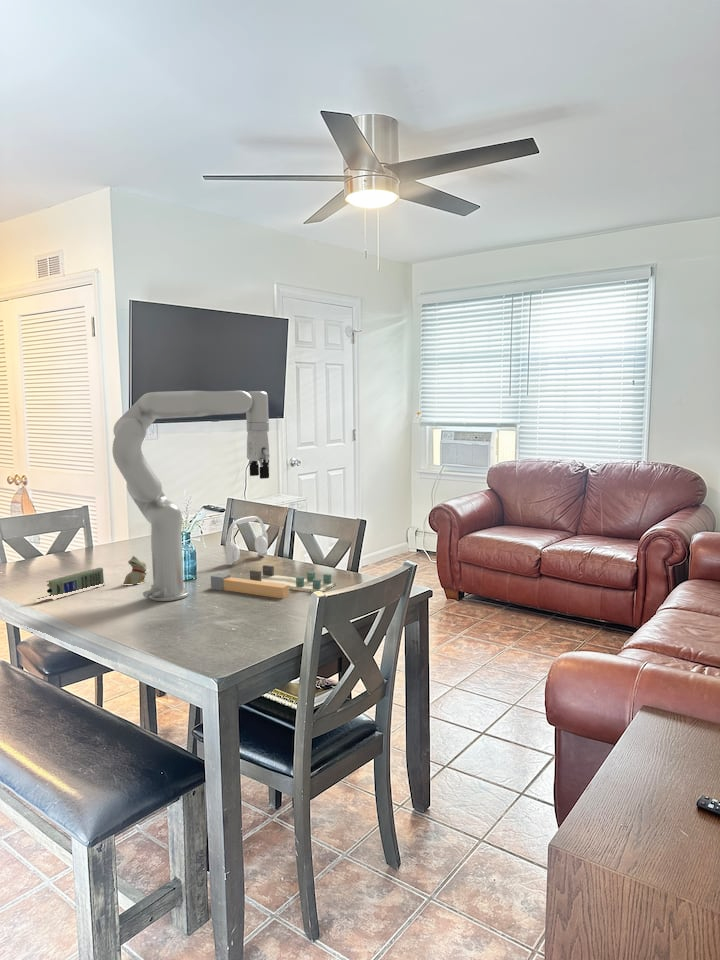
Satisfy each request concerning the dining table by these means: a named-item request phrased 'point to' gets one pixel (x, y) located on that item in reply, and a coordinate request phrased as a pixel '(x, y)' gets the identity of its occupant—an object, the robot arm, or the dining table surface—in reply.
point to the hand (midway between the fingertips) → (259, 476)
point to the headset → (260, 541)
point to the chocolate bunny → (136, 572)
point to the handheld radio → (75, 582)
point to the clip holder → (293, 580)
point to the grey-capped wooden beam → (249, 586)
